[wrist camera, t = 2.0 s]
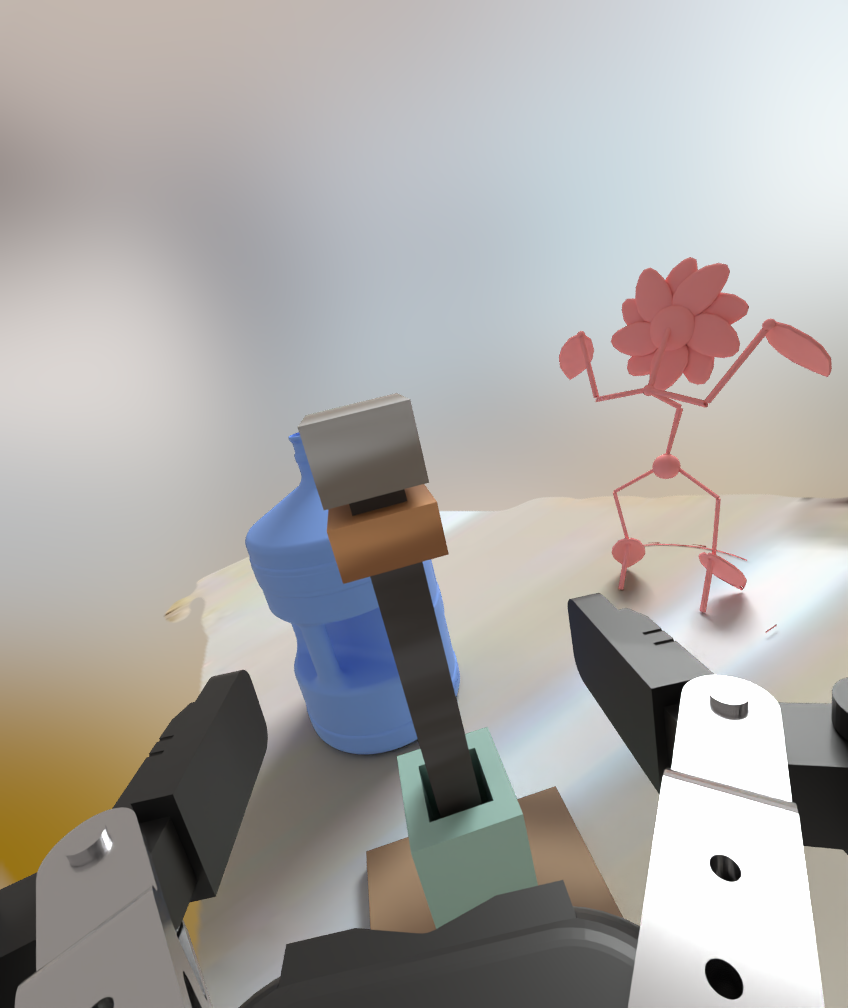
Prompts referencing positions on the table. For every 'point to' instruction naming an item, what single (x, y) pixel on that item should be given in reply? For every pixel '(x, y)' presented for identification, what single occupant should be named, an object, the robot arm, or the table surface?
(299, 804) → the table surface
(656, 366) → the figurine
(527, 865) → the sleeve
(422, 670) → the cord stand
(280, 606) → the water jug
